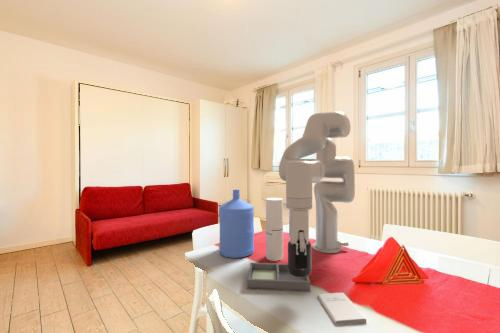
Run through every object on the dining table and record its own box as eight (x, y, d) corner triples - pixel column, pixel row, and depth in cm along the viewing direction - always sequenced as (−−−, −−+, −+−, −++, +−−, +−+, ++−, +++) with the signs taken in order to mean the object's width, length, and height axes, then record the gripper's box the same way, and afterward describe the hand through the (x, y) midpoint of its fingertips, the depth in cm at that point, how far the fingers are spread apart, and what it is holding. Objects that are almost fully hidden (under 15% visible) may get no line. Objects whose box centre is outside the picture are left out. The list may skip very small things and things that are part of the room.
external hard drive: (335, 327, 62) (317, 298, 74) (366, 324, 63) (343, 297, 75) (335, 320, 62) (317, 293, 74) (366, 318, 63) (343, 291, 75)
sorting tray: (304, 272, 90) (304, 264, 90) (310, 291, 77) (310, 282, 77) (250, 270, 92) (250, 262, 92) (247, 288, 79) (247, 279, 79)
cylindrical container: (282, 261, 100) (282, 200, 99) (265, 260, 101) (264, 200, 101) (283, 254, 107) (283, 197, 106) (267, 253, 108) (267, 197, 108)
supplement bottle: (315, 271, 73) (315, 232, 72) (303, 280, 68) (302, 238, 68) (296, 264, 78) (296, 227, 77) (283, 272, 73) (282, 232, 72)
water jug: (261, 253, 109) (260, 190, 108) (230, 262, 100) (229, 193, 99) (242, 243, 122) (241, 187, 121) (213, 250, 113) (212, 189, 112)
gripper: (284, 197, 81) (285, 250, 82) (287, 209, 64) (288, 276, 65) (307, 197, 80) (308, 250, 81) (317, 209, 63) (317, 277, 64)
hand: (299, 261), depth 73 cm, fingers closed on supplement bottle, 6 cm apart
